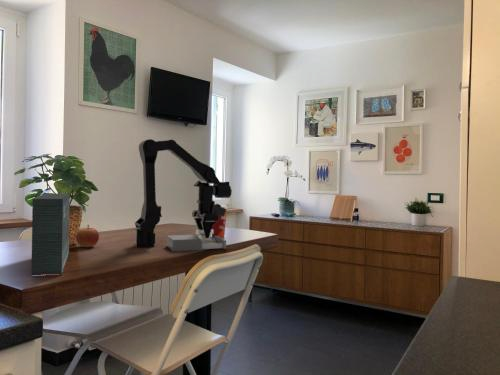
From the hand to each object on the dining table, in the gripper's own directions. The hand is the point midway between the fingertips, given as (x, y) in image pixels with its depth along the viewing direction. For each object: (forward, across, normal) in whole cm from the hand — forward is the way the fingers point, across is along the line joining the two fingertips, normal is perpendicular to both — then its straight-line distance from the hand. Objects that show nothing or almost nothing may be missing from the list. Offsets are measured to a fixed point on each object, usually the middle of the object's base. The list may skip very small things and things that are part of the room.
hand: (204, 236), depth 163 cm
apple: (+3, 0, +44) cm, 44 cm away
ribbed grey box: (+3, -28, +53) cm, 60 cm away
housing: (+2, -10, +10) cm, 15 cm away
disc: (-1, 0, 0) cm, 1 cm away
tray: (+2, -10, +1) cm, 11 cm away
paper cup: (+3, +14, -10) cm, 17 cm away
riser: (+2, 0, 0) cm, 2 cm away
